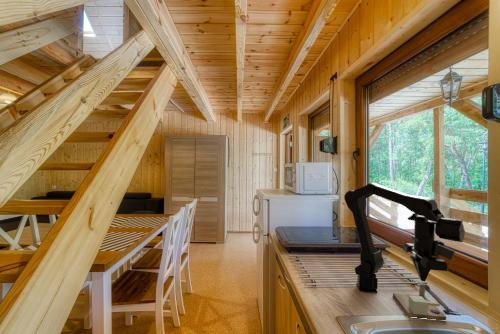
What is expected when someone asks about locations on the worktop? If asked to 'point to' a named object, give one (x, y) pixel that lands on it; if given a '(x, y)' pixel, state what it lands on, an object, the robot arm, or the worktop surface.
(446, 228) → the robot arm
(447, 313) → the tactical tomahawk
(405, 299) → the board
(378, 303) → the worktop surface
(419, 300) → the pointer block
